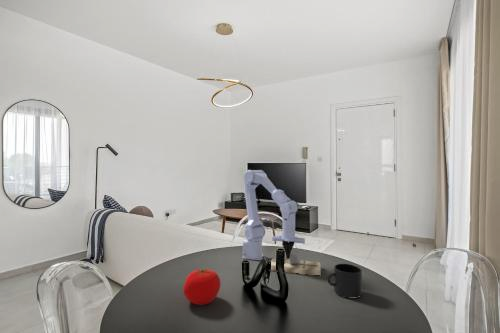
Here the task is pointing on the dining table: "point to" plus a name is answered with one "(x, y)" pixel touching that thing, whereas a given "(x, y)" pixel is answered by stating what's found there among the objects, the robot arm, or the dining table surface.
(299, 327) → the dining table surface
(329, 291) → the dining table surface
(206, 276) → the tomato
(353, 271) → the mug
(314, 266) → the board
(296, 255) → the fader tab
